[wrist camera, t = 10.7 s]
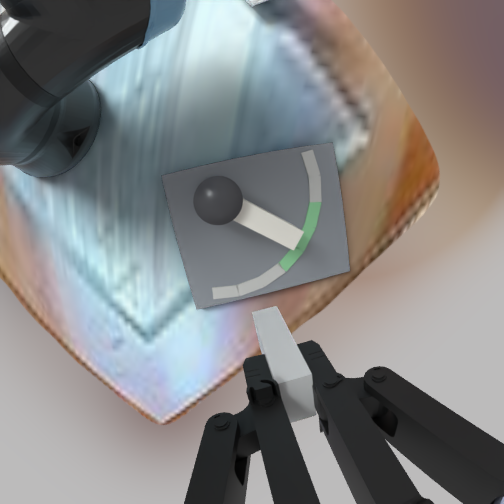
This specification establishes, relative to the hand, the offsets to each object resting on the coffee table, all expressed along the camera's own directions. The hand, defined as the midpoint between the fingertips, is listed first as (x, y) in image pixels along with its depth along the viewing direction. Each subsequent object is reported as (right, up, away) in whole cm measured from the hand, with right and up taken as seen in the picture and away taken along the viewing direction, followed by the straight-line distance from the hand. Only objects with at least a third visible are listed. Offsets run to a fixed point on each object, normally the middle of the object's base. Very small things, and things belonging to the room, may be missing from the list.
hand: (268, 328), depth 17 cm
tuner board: (0, +8, +21) cm, 23 cm away
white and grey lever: (-1, +9, +19) cm, 21 cm away
